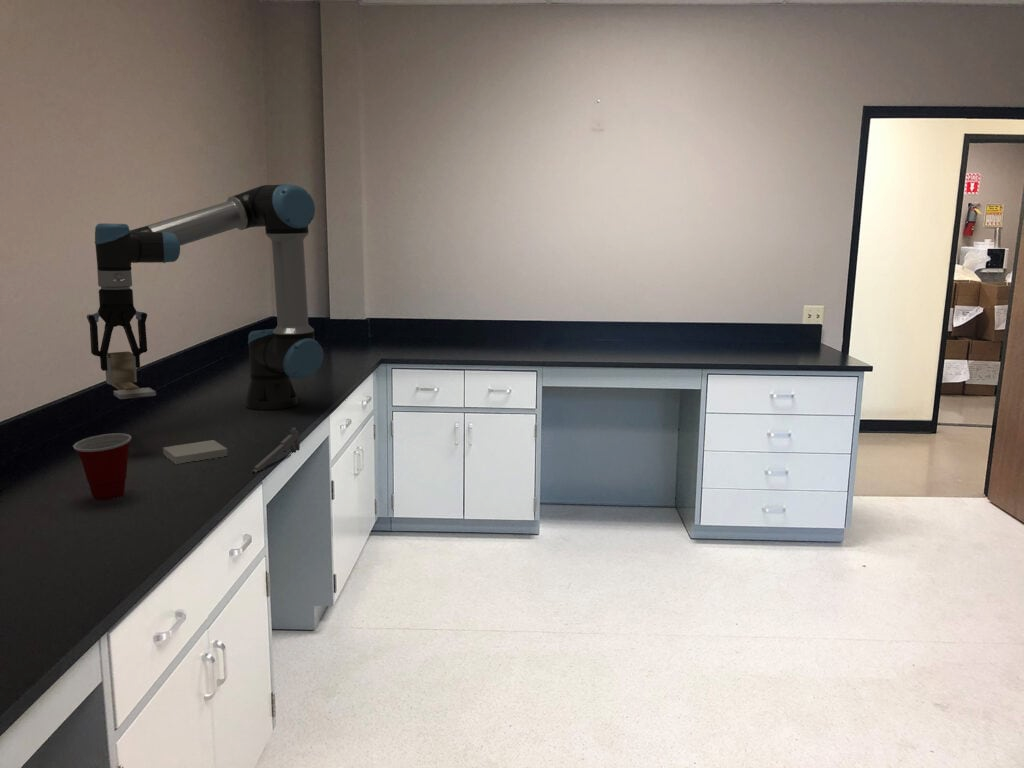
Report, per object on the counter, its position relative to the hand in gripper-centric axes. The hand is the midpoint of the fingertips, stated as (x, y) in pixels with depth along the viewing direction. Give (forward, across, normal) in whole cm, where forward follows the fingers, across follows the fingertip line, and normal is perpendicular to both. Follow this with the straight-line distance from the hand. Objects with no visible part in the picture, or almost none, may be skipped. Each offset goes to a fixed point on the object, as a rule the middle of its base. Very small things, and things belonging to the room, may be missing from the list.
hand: (121, 382), depth 212 cm
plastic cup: (+16, -13, -41) cm, 46 cm away
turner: (+1, 0, -3) cm, 4 cm away
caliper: (+16, +24, -37) cm, 47 cm away
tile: (+15, +11, -16) cm, 24 cm away
